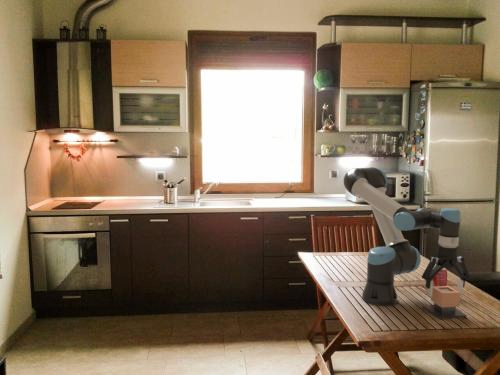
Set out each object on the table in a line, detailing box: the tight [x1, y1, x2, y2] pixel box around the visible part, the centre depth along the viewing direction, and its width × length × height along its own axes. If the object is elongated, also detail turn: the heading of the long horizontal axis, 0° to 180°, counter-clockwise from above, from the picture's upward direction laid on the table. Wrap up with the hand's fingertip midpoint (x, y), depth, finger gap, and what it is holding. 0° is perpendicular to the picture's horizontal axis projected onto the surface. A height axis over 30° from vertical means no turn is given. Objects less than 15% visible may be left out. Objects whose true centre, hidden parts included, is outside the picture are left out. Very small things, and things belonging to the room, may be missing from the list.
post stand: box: [423, 289, 467, 320], centre depth 183 cm, size 12×12×10 cm
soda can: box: [431, 265, 448, 287], centre depth 207 cm, size 7×7×12 cm
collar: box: [430, 285, 461, 308], centre depth 183 cm, size 8×8×6 cm
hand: (444, 295), depth 183 cm, fingers open, 13 cm apart
